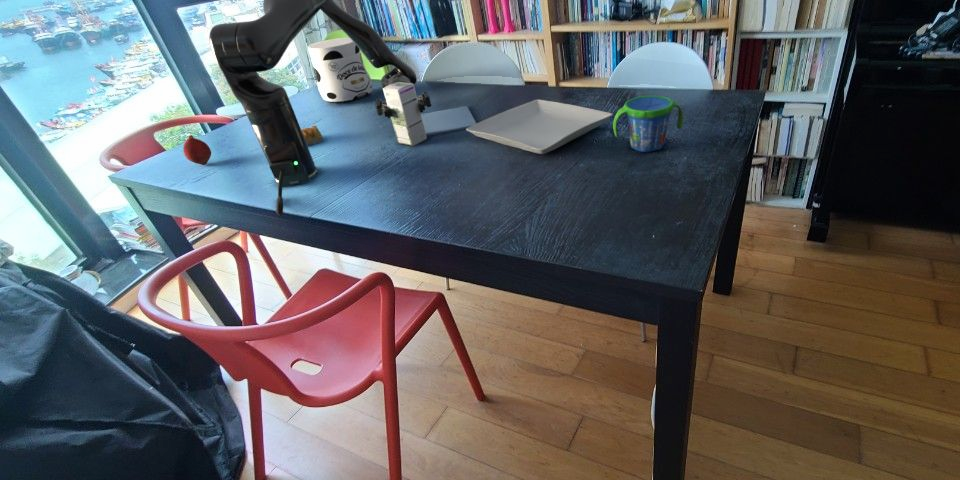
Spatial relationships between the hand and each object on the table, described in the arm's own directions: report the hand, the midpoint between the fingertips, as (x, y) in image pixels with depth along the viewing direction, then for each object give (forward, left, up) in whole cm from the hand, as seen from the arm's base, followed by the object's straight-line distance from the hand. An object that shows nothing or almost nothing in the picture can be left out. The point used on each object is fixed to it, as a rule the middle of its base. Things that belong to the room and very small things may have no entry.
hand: (404, 111), depth 120 cm
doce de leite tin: (+54, +18, -9) cm, 58 cm away
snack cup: (-30, -52, -9) cm, 61 cm away
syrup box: (+2, 0, -9) cm, 9 cm away
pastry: (+16, +28, -9) cm, 33 cm away
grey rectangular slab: (+13, -11, -9) cm, 19 cm away
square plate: (-10, -32, -9) cm, 35 cm away
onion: (+13, +54, -9) cm, 56 cm away
